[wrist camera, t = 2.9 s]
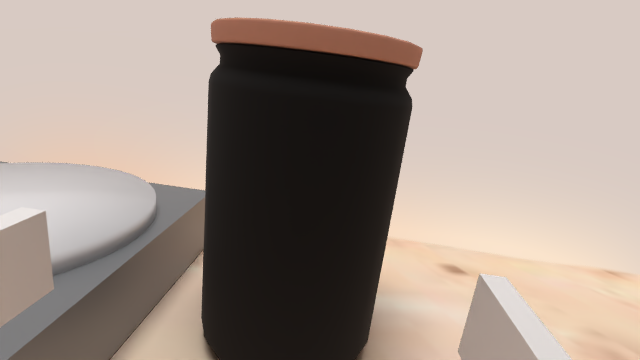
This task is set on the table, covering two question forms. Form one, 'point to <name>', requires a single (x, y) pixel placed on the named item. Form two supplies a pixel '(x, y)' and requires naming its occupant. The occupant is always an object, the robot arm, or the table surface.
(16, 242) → the robot arm
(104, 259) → the kitchen scale
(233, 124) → the coffee jar
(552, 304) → the table surface
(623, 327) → the table surface
